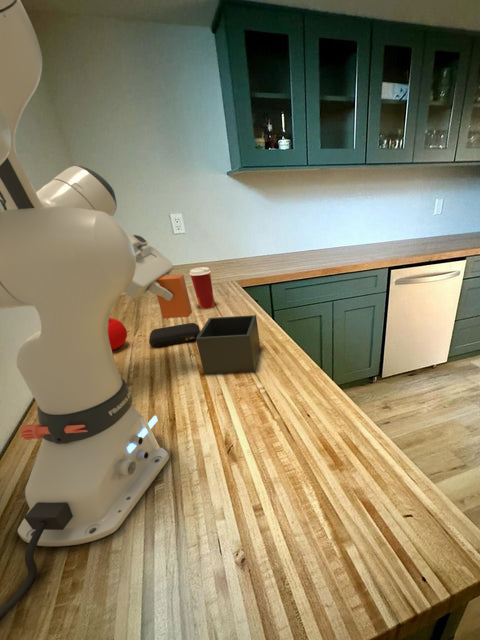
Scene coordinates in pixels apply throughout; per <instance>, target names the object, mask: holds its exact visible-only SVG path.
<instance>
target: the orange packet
mask: <svg viewBox="0 0 480 640" xmlns="http://www.w3.org/2000/svg"><path fill="white" fill-rule="evenodd" d="M156 282H157V283H159V284H160V285H159V286H161V287H163V288H165V289H167V290H168V289H169V290H170V291H172V292H173V293H174V294H175V295H174V297H173V298H172V299H171V300H170V301H167V300H166V299H165V298H163V297H161V296H158V295H156V298H157V302H158V304H159V305H158V306H159V307H160V312H161V316H162V319H178V318H189V317H190V316H191V314H192V313H193V309H192V306H191V301H190V297H189V292H188V289H187V284H186V279H185V275H184V274H174V275H173V274H170V275H169V276H162V277H160V278H159V279H158V280H156Z"/></svg>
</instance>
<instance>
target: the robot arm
mask: <svg viewBox="0 0 480 640" xmlns="http://www.w3.org/2000/svg"><path fill="white" fill-rule="evenodd" d="M42 72H43V54H42V50H41V46H40V42H39V40H38V37H37V34H36V30H35V29H34V27H33V24H32V21H31V20H30V17H29V16H28V13H27V10H26V9H25V7H24V5H23V3H22V1H21V0H0V204H1V206H2V208H3V209H1V208H0V310H5V309H15V308H24V307H34V309H35V310H36V312H37V314H38V318H39V321H40V329H39V330H38V331H37V332H35V333H34V334H32V335H31V336H30V337H28V338H27V339H26V340H25V341H24V342H23V343H22V345H21V346H20V348H19V349H18V352H17V356H16V368H17V370H18V372H19V373H20V375H21V377H22V379H23V380H24V382H25V384H26V386H27V388H28V389H29V391H30V393H31V395H32V396H33V398H34V400H35V402H36V404H37V419H38V423H37V424H24V425H23V426H22V428H20V429H21V430H20V436H21V438H22V440H33V439H36V440H40V439H42V440H41V443H40V446H39V449H38V452H37V454H36V457H35V460H34V462H33V466H32V469H31V472H30V475H29V478H28V480H27V483H26V485H25V488H24V497H25V500H26V503H27V505H28V508H29V509H28V510H27V513H26V514H25V515H24V517H23V520H22V521H21V523H20V524H19V526H18V528H17V534H18V536H19V538H20V539H21V540H22V541H24V542H25V543H27V544H28V545H27V547H26V550H25V555H24V564H25V567H26V570H27V576H26V577H25V580H24V582H23V584H22V585H21V587H20V588H19V590H18V591H17V592H16V593H15V594H14V595H13V596H12V597H11V598H10V600H8V602H6V603H5V604H4V605H3V606H2V607H1V608H0V620H1V619H2V618H3V617H4V616H5V615H6V614H7V613H9V612H10V611H11V609H13V607H14V606H15V605H17V603H18V602H19V601H20V600H21V599H22V598H23V597H24V596H25V594H26V593H27V592H28V591H29V590H30V588H31V586H32V585H33V583H34V581H35V578H36V576H37V571H38V567H37V565H36V562H35V552H36V548H37V546H39V547H67V546H69V547H70V546H76V545H82V544H87V543H91V542H94V541H97V540H101V539H102V538H105V537H107V536H110V535H112V534H113V533H115V532H116V531H118V529H119V528H121V526H122V524H124V522H125V520H126V519H127V517H129V515H130V513H132V511H133V509H134V508H135V506H136V505H138V502H139V501H140V499H141V498H143V495H144V494H145V493H146V491H147V490H148V489H149V487H150V486H151V485H152V483H153V482H154V480H155V479H156V478H157V477H158V475H159V473H160V472H161V471H162V469H163V468H164V467H165V466H166V464H167V462H168V461H169V460H170V454H169V453H168V451H167V450H166V449H164V448H163V447H161V446H160V444H159V443H158V440H157V438H156V437H155V435H154V433H153V430H152V428H153V427H154V426H155V424H156V423H158V417H157V415H154V416H152V418H151V419H150V420H149V422H148V421H147V419H146V418H145V417H144V416H143V415H142V414H141V413H140V412H139V410H138V409H137V408H136V407H135V406H134V404H133V396H132V394H131V390H130V387H129V385H128V384H127V381H126V380H125V379H124V378H123V377H122V376H121V374H120V371H119V369H118V365H117V363H116V360H115V357H114V354H113V350H112V349H111V346H110V342H109V336H108V323H109V318H111V315H112V314H111V313H112V310H113V309H114V306H115V304H116V303H117V301H118V300H119V298H120V296H121V295H122V294H124V293H125V294H126V295H127V296H128V297H130V298H133V299H136V300H137V299H139V298H140V297H141V296H143V295H144V294H146V293H147V292H150V293H151V294H153V295H156V296H157V295H158V296H161V297H163V298H165V299H166V300H167V301H170V300H171V299H172V298H173V297H174V295H175V294H174V293H173V292H172V291H170V290H169V289H168V290H167V289H165V288H163V287H161V286H159V285H160V284H159V283H157V282H156V280H158V279H159V278H160V277H162V276H170V275H171V273H172V272H173V270H174V268H175V266H174V264H173V263H172V261H171V260H169V259H168V258H167V257H166V256H165V255H164V254H162V253H161V252H160V251H159V250H157V248H155V247H154V246H152V245H150V244H149V240H148V239H146V238H145V237H144V236H142V235H140V234H139V235H137V234H133V233H130V232H128V231H126V230H125V228H123V226H122V225H121V224H120V223H119V222H118V221H117V220H116V219H115V218H114V217H113V216H114V215H115V213H116V210H117V197H116V194H115V190H114V189H113V187H112V186H111V184H110V183H109V182H108V181H107V180H106V179H105V178H104V177H102V176H101V175H100V174H99V173H97V172H95V171H94V170H93V169H90V168H88V167H85V166H82V165H78V164H75V165H72V166H70V167H68V168H66V169H64V170H63V171H61V172H60V173H58V174H57V175H56V176H55V177H53V178H52V179H51V180H50V181H49V182H48V183H46V184H45V185H43V186H42V187H41V188H40V189H39V190H37V191H36V190H35V188H34V186H33V184H32V181H31V180H30V177H29V175H28V173H27V171H26V170H25V167H24V165H23V164H22V162H21V160H20V158H19V155H18V152H17V149H16V132H17V129H18V125H19V123H20V120H21V117H22V115H23V113H24V111H25V108H26V107H27V105H28V103H29V102H30V100H31V98H32V97H33V95H34V94H35V92H36V91H37V88H38V86H39V84H40V81H41V77H42ZM110 314H111V315H110Z"/></svg>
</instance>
